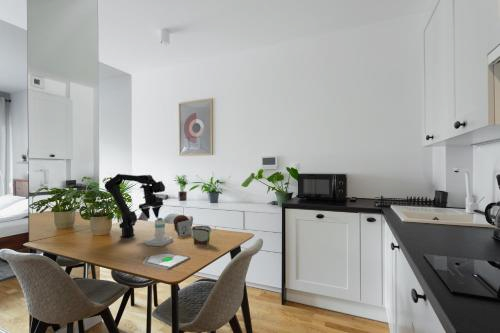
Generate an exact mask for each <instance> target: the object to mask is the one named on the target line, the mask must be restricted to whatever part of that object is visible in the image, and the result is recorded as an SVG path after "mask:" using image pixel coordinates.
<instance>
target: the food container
mask: <svg viewBox="0 0 500 333" xmlns="http://www.w3.org/2000/svg"><path fill="white" fill-rule="evenodd" d="M191 230H193V237H192V238H193V245H197V246H203V247H209V245H210V237H211V232H212V228H211V227H210V226H209V225H195V226H192V227H191Z"/></svg>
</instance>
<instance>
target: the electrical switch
mask: <svg viewBox="0 0 500 333" xmlns="http://www.w3.org/2000/svg"><path fill="white" fill-rule="evenodd" d="M176 226H177V230H176V231H177V236H178V237H180V238H182V237H186V236H190V235H192V224H191V220H189V221H183V222H179V223H178V224H176ZM178 228H179V230H178Z"/></svg>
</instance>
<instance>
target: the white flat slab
mask: <svg viewBox="0 0 500 333" xmlns="http://www.w3.org/2000/svg"><path fill="white" fill-rule="evenodd" d="M189 259H191V256H186V255H180V254H175V253H169V252H165V253H159V254H152V255H148V256H147V257H146V258H145V260H144V261H143V263H142V265H144V266H149V267H152V266H153V267H154V268H157V269H161V268H162V270H165V269H166V270H165V271H167V270H170V269H171V268H174V267H175V266H177V265H180V264H181V263H184V262H185V261H187V260H189Z"/></svg>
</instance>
